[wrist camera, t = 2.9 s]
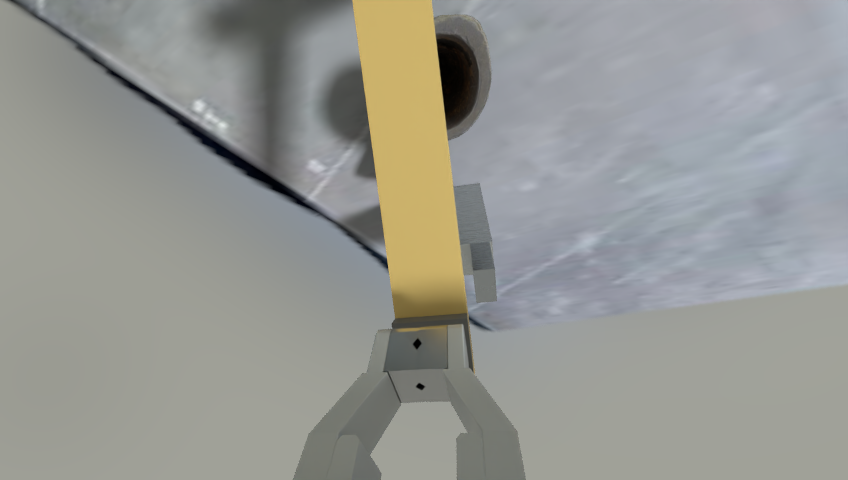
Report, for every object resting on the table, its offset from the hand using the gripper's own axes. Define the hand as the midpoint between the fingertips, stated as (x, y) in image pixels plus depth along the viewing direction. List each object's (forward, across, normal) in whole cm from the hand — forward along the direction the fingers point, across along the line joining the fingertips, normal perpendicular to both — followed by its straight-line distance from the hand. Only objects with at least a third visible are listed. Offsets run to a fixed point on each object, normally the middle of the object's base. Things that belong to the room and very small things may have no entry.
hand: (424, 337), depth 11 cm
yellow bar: (+7, 0, -5) cm, 8 cm away
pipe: (+22, 0, -4) cm, 22 cm away
